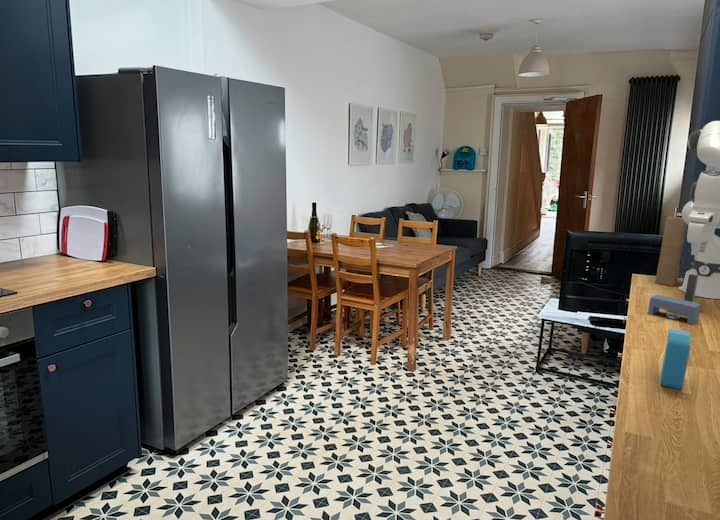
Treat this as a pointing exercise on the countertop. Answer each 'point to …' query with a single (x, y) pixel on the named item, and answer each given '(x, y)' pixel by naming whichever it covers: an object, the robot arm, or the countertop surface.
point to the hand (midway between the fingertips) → (697, 253)
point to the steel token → (672, 316)
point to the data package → (676, 359)
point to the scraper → (689, 291)
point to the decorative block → (671, 251)
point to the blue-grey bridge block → (675, 307)
